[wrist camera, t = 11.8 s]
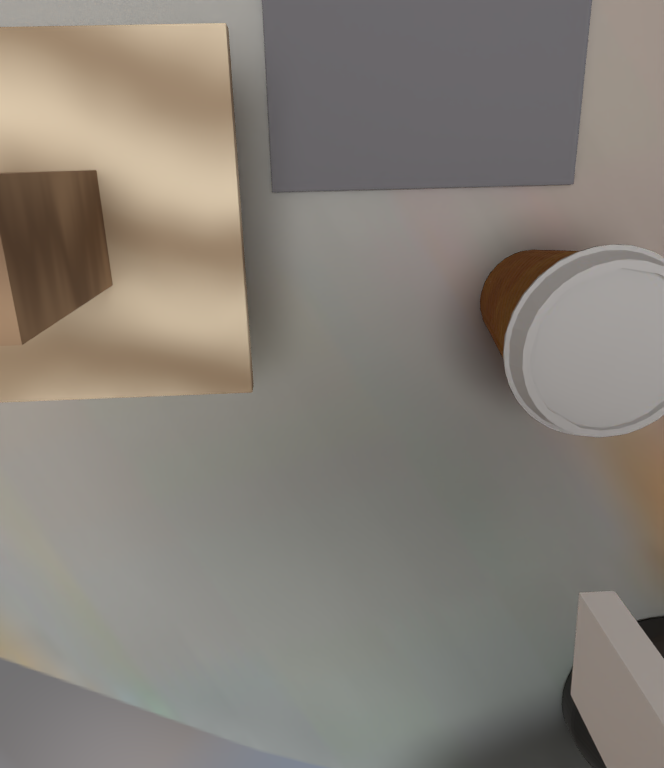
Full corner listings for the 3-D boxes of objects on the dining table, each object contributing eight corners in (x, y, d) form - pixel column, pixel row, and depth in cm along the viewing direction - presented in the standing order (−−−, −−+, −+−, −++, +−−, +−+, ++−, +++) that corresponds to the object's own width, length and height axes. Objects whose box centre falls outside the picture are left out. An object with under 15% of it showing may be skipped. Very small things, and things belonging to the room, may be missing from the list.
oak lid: (253, 385, 32) (231, 493, 21) (-70, 398, 31) (-254, 516, 21) (228, 28, 26) (182, -59, 16) (-163, 34, 26) (-472, -50, 15)
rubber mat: (570, 184, 38) (573, 184, 38) (272, 191, 38) (272, 192, 37) (607, -188, 32) (611, -192, 32) (252, -183, 31) (252, -188, 31)
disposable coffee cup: (622, 236, 39) (749, 267, 28) (577, 379, 42) (675, 458, 31) (474, 210, 38) (544, 231, 27) (440, 358, 41) (489, 431, 30)
